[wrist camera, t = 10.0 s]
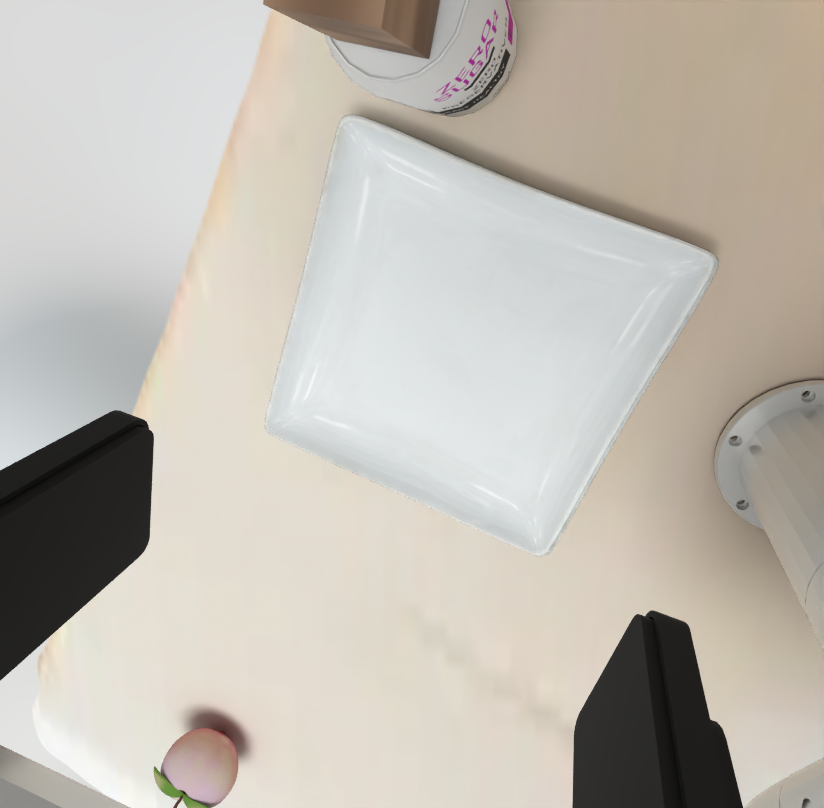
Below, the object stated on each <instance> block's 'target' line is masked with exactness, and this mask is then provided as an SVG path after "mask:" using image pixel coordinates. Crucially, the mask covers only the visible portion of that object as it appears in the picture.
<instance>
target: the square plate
mask: <svg viewBox="0 0 824 808" xmlns="http://www.w3.org/2000/svg"><path fill="white" fill-rule="evenodd" d="M718 267H719V260H718V258H717V257H716V256H715V255H713V254H712V253H710V252H708V251H706V250H704V249H702V248H700V247H697V246H695V245H692V244H690V243H687V242H685V241H682V240H680V239H677V238H674V237H672V236H669V235H666V234H663V233H660V232H658V231H655V230H651V229H649V228H646V227H643V226H640V225H637V224H634V223H631V222H628V221H625V220H622V219H619V218H616V217H614V216H611V215H608V214H605V213H602V212H599V211H596V210H593V209H591V208H588V207H585V206H582V205H579V204H576V203H574V202H571V201H568V200H566V199H563V198H560V197H557V196H555V195H552V194H549V193H546V192H544V191H541V190H538V189H536V188H533V187H531V186H528V185H526V184H523V183H520V182H518V181H515V180H513V179H510V178H508V177H505V176H503V175H500V174H498V173H496V172H493V171H491V170H488V169H486V168H484V167H481V166H479V165H476V164H474V163H472V162H469V161H467V160H465V159H462V158H460V157H458V156H455V155H453V154H451V153H448V152H446V151H444V150H442V149H439V148H437V147H435V146H432V145H430V144H428V143H425V142H423V141H421V140H419V139H416V138H414V137H412V136H409V135H407V134H405V133H402V132H400V131H398V130H396V129H393V128H391V127H388V126H386V125H383V124H381V123H378V122H375V121H373V120H370V119H367V118H364V117H361V116H357V115H352V114H350V115H346V116H344V117H343V118H342V119H341V121H340V122H339V125H338V128H337V131H336V135H335V139H334V143H333V147H332V150H331V154H330V158H329V162H328V167H327V171H326V176H325V180H324V185H323V189H322V193H321V198H320V202H319V207H318V211H317V215H316V219H315V223H314V228H313V232H312V236H311V241H310V245H309V249H308V254H307V258H306V262H305V266H304V270H303V274H302V278H301V283H300V286H299V290H298V294H297V298H296V302H295V306H294V310H293V314H292V318H291V321H290V325H289V329H288V333H287V336H286V340H285V343H284V347H283V351H282V355H281V359H280V362H279V366H278V369H277V374H276V377H275V381H274V385H273V389H272V393H271V397H270V400H269V404H268V409H267V413H266V418H265V429H266V431H267V432H268V433H269V434H271V435H272V436H274V437H276V438H278V439H280V440H282V441H284V442H286V443H289V444H291V445H293V446H295V447H297V448H299V449H301V450H303V451H306V452H308V453H310V454H312V455H314V456H317V457H319V458H321V459H323V460H326V461H328V462H330V463H332V464H335V465H337V466H339V467H341V468H343V469H346V470H348V471H350V472H352V473H355V474H357V475H359V476H361V477H364V478H366V479H368V480H370V481H372V482H374V483H377V484H379V485H381V486H383V487H386V488H388V489H390V490H392V491H395V492H397V493H399V494H401V495H403V496H406V497H408V498H410V499H412V500H414V501H417V502H419V503H421V504H423V505H425V506H428V507H430V508H432V509H434V510H436V511H438V512H441V513H443V514H445V515H447V516H449V517H451V518H453V519H455V520H457V521H460V522H462V523H464V524H466V525H468V526H470V527H473V528H475V529H477V530H479V531H481V532H484V533H486V534H488V535H490V536H492V537H494V538H496V539H499V540H501V541H503V542H505V543H507V544H510V545H512V546H514V547H516V548H519V549H521V550H524V551H526V552H528V553H531V554H533V555H536V556H539V557H542V556H546V555H548V554H549V553H550V552H551V551H552V549H553V548H554V546H555V545H556V543H557V542H558V540H559V538H560V537H561V535H562V533H563V532H564V530H565V528H566V527H567V525H568V523H569V521H570V519H571V518H572V516H573V514H574V512H575V511H576V509H577V507H578V505H579V504H580V502H581V500H582V498H583V496H584V495H585V493H586V491H587V489H588V487H589V486H590V484H591V482H592V480H593V479H594V477H595V475H596V473H597V472H598V470H599V468H600V466H601V465H602V463H603V461H604V459H605V457H606V456H607V454H608V452H609V450H610V449H611V447H612V445H613V444H614V442H615V440H616V439H617V437H618V435H619V433H620V432H621V430H622V428H623V426H624V425H625V423H626V421H627V420H628V418H629V416H630V415H631V413H632V412H633V410H634V408H635V407H636V405H637V403H638V401H639V400H640V398H641V396H642V395H643V393H644V392H645V390H646V388H647V387H648V385H649V383H650V382H651V380H652V379H653V377H654V375H655V374H656V372H657V370H658V369H659V367H660V366H661V364H662V362H663V361H664V359H665V358H666V356H667V354H668V353H669V351H670V349H671V348H672V346H673V345H674V343H675V341H676V340H677V338H678V337H679V335H680V333H681V332H682V330H683V328H684V327H685V325H686V323H687V322H688V320H689V318H690V317H691V315H692V314H693V312H694V310H695V309H696V307H697V305H698V304H699V302H700V300H701V298H702V297H703V295H704V293H705V291H706V290H707V288H708V286H709V284H710V283H711V281H712V279H713V277H714V275H715V273H716V271H717V269H718Z"/></svg>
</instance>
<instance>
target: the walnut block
mask: <svg viewBox="0 0 824 808" xmlns="http://www.w3.org/2000/svg"><path fill="white" fill-rule="evenodd" d="M263 4H264V5H266V6H268V7H270V8H272V9H274V10H276V11H278V12H280V13H282V14H284V15H286V16H288V17H290V18H292V19H295V20H297V21H299V22H301V23H303V24H305V25H307V26H309V27H311V28H313V29H315V30H317V31H319V32H321V33H323V34H325V35H328V36H330V37H332V38H334V39H336V40H339V41H343V42H348V43H353V44H358V45H363V46H367V47H372V48H377V49H382V50H386V51H391V52H396V53H401V54H406V55H410V56H415V57H420V58H425V59H429V57H430V52H431V46H432V41H433V36H434V30H435V25H436V20H437V14H438V9H439V4H440V0H264V3H263Z"/></svg>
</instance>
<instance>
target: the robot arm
mask: <svg viewBox="0 0 824 808" xmlns="http://www.w3.org/2000/svg"><path fill="white" fill-rule="evenodd" d="M805 391H808V392H807V393H806V394H804V395H801V394H802V393H803V392H805ZM732 436H736V437H735V438H733V439H732V438H731V437H732ZM153 445H154V436H153V433H152V431H150V430H149V427H148V424H147V422H146V421H145V420H143V419H140V418H138V417H135V416H132V415H130V414H127V413H124V412H122V411H117V410H116V411H112V412H109V413H108V414H106V415H104V416H102V417H100V418H98V419H96V420H94V421H93V422H91V423H89V424H87V425H85V426H83V427H81V428H80V429H78V430H76V431H74V432H72V433H70V434H68V435H66V436H64V437H63V438H61V439H59V440H57V441H55V442H53V443H51V444H49V445H47V446H46V447H44V448H42V449H40V450H38V451H36V452H34V453H32V454H30V455H29V456H27V457H25V458H23V459H21V460H19V461H18V462H15V463H14V464H12V465H10V466H8V467H6V468H4V469H2V470H0V680H1V679H3V678H4V677H5V676H6V675H7V674H8V673H9V672H10V671H11V670H12V669H14V668H15V667H16V666H17V665H18V664H19V663H21V662H22V661H23V660H24V659H25V658H26V657H27V656H28V655H29V654H31V653H32V652H33V651H34V650H35V649H36V648H37V647H38V646H40V645H41V644H42V643H43V642H44V641H45V640H46V639H47V638H49V637H50V636H51V635H52V634H53V633H54V632H55V631H56V630H58V629H59V628H60V627H61V626H62V625H63V624H64V623H65V622H67V621H68V620H69V619H70V618H71V617H72V616H73V615H74V614H76V613H77V612H78V611H79V610H80V609H81V608H82V607H83V606H85V605H86V604H87V603H88V602H89V601H90V600H91V599H92V598H93V597H95V596H96V595H97V594H98V593H99V592H100V591H101V590H102V589H104V588H105V587H106V586H107V585H108V584H109V583H110V582H111V581H113V580H114V579H115V578H116V577H117V576H118V575H119V574H120V573H122V572H123V571H124V570H125V569H126V568H127V567H128V566H129V565H131V564H132V563H133V562H134V561H135V560H136V559H137V558H138V557H139V556H140V555H141V554H142V553H143V552H144V550H145V549H146V547H147V545H148V542H149V537H150V515H151V491H152V468H153ZM714 470H715V477H716V480H717V483H718V486H719V489H720V491H721V493H722V494H723V496H724V498H725V500H726V502H727V503H728V504H729V506H730V507H731V508H732V509H733V510H734V512H736V513H737V514H738V515H739V516H741V517H742V518H743V519H744V520H746V521H747V522H749V523H750V524H752V525H754V526H756V527H758V528H760V529H762V530H765V532H766V534H767V536H768V538H769V540H770V542H771V545H772V547H773V549H774V551H775V553H776V555H777V557H778V559H779V561H780V563H781V565H782V567H783V569H784V571H785V573H786V575H787V577H788V579H789V581H790V583H791V585H792V587H793V589H794V591H795V594H796V596H797V598H798V600H799V602H800V604H801V606H802V608H803V610H804V612H805V614H806V616H807V618H808V620H809V622H810V624H811V626H812V629H813V631H814V632H815V634H816V636H817V638H818V640H819V642H820V644H821V646H822V648H823V649H824V380H813V381H804V382H798V383H793V384H788V385H785V386H782V387H779V388H777V389H774V390H771V391H769V392H767V393H765V394H763V395H761V396H759V397H758V398H756V399H754V400H752V401H751V402H750V403H749V404H747V405H746V406H745V407H743V408H742V409H741V410H739V412H738V413H737V414H736V415H735V416H734V417H733V418H732V419H731V420H730V421H729V422H728V424H727V426H726V427H725V429H724V430H723V432H722V434H721V435H720V438H719V441H718V443H717V446H716V449H715V456H714ZM740 500H742V501H740ZM0 808H130V807H128V806H126V805H124V804H121V803H119V802H117V801H115V800H113V799H111V798H109V797H107V796H105V795H103V794H101V793H99V792H97V791H95V790H93V789H90V788H88V787H87V786H84V785H82V784H80V783H78V782H76V781H74V780H72V779H70V778H68V777H66V776H64V775H62V774H60V773H57V772H55V771H53V770H51V769H49V768H47V767H45V766H43V765H41V764H39V763H37V762H34V761H32V760H30V759H28V758H26V757H24V756H22V755H20V754H18V753H16V752H14V751H12V750H9V749H7V748H5V747H3V746H1V745H0ZM573 808H743V806H742V802H741V798H740V794H739V790H738V785H737V781H736V777H735V773H734V769H733V765H732V761H731V757H730V753H729V749H728V745H727V740H726V737H725V735H724V732H723V729H722V728H721V726H720V725H719V724H718V723H717V722H715V721H712V720H710V717H709V712H708V708H707V704H706V699H705V695H704V690H703V686H702V681H701V677H700V672H699V668H698V663H697V659H696V655H695V650H694V646H693V641H692V637H691V632H690V629H689V626H688V624H687V623H685V622H683V621H680V620H678V619H675V618H672V617H670V616H667V615H664V614H662V613H659V612H656V611H650V612H648V613H647V615H646V616H642V615H639V614H637V615H635V616H634V618H633V619H632V621H631V623H630V624H629V626H628V628H627V630H626V631H625V633H624V635H623V637H622V639H621V640H620V642H619V644H618V646H617V647H616V649H615V651H614V653H613V655H612V656H611V658H610V660H609V662H608V663H607V665H606V667H605V669H604V670H603V672H602V674H601V676H600V678H599V679H598V681H597V683H596V685H595V686H594V688H593V690H592V692H591V694H590V695H589V697H588V699H587V701H586V702H585V704H584V706H583V708H582V710H581V711H580V713H579V715H578V718H577V721H576V725H575V731H574V764H573ZM745 808H824V758H822V759H820V760H818V761H816V762H814V763H812V764H811V765H809V766H807V767H805V768H803V769H801V770H799V771H797V772H795V773H793V774H791V775H790V776H789V777H787V778H785V779H784V780H782V781H780V782H778V783H776V784H774V785H772V786H771V787H769V788H768V789H766V790H765V791H763V792H761V793H760V794H759V795H757V796H756V797H755V798H754V799H752V800H751V801H750V802H749V803H748V804H747V806H746V807H745Z"/></svg>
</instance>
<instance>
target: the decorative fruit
mask: <svg viewBox="0 0 824 808" xmlns="http://www.w3.org/2000/svg"><path fill="white" fill-rule="evenodd" d="M237 773H238V755H237V750H236V747H235V746H234V744H233V742H232V741H231V740H230V739H229V738H228V737H227V736H226V735H225V734H224V732H218V731H216V730H213V729H210V728H198V729H194V730H192V731H190V732H188V733H186V734H185V735H183V736H182V737H180V738H179V739H178V740H177V741H176V742H175V743H174V744H173V745H172V747H171V748H170V749H169V751H168V753H167V754H166V756H165V758H164V761H163V763H162V767H161V772H159V771H158V770H157V768H156V767H154V777H155V781H156V783H157V785H158V787H159V788H160V790H161V791H162V792H163V793H165V794H166V795H168V796H170V797H171V798H173V799H175V800H178V801H177V803H176V804H175V806H174V807H173V808H177V806H178V804H179V803H180V802H181V800H182V801H184V803H185V805H186V806H187V807H188V808H212V807H214V806H216V805H218V804H219V803H220V802H221V801H222V800H223V799H224V798H225V797H226V796H227V795H228V793H229V792H230V791H231V789H232V787H233V785H234V783H235V781H236V778H237Z"/></svg>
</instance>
